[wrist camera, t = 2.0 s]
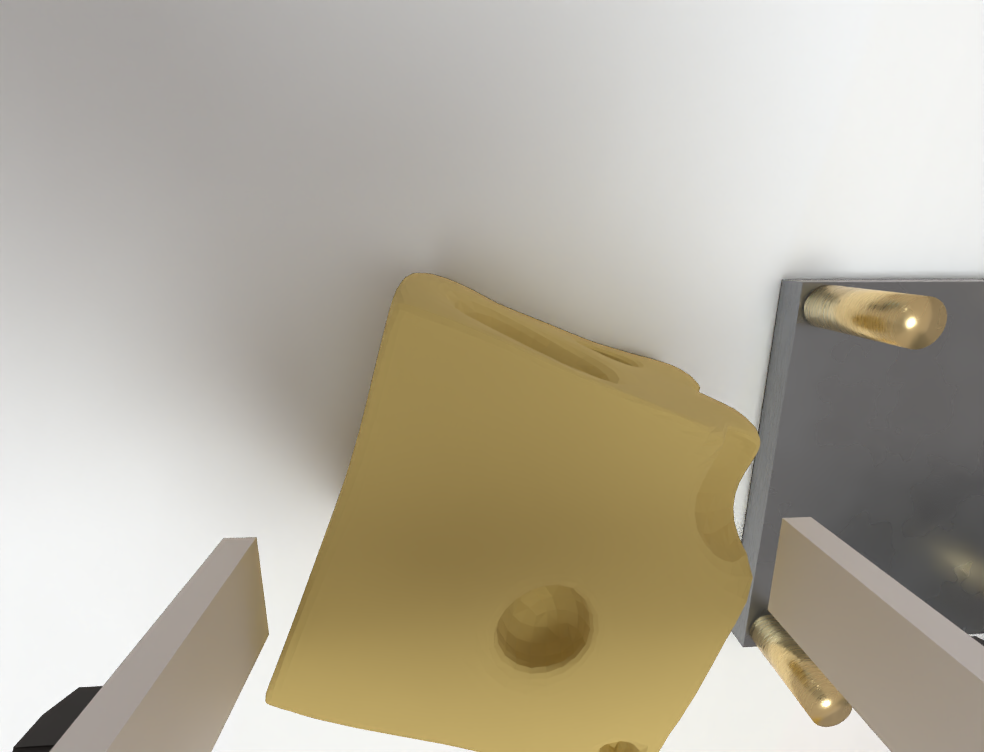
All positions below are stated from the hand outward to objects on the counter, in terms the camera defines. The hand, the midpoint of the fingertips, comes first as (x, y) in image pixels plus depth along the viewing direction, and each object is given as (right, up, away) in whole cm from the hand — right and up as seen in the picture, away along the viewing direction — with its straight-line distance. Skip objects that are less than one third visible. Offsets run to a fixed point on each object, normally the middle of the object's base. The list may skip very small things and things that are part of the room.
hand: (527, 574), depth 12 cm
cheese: (-1, +3, +8) cm, 9 cm away
